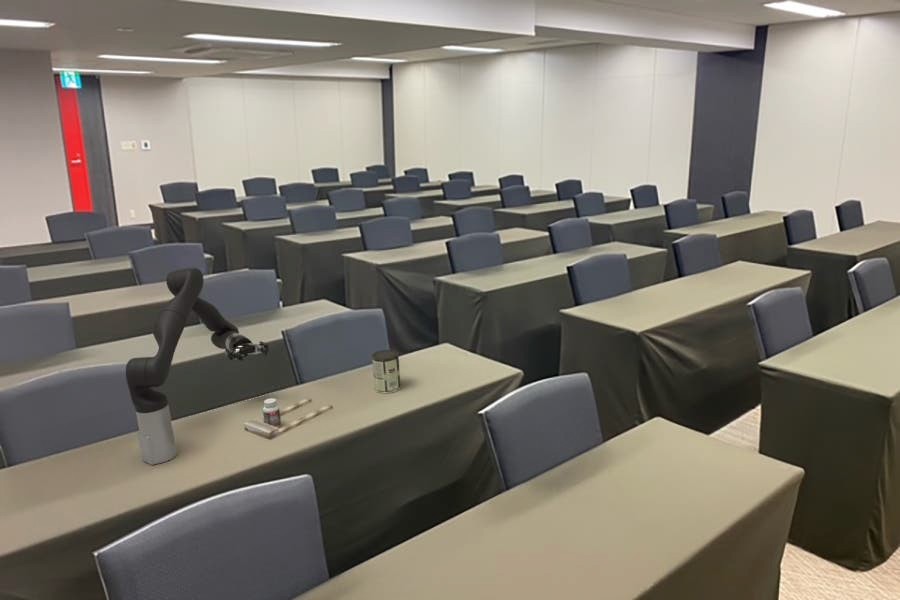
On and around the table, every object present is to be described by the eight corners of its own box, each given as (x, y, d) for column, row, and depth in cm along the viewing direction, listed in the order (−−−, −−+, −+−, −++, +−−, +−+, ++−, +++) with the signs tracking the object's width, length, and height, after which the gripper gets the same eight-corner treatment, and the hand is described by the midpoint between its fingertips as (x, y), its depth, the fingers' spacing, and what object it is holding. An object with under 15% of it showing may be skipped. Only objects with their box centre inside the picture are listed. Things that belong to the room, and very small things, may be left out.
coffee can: (385, 381, 251) (382, 348, 247) (406, 385, 246) (403, 351, 242) (368, 390, 243) (365, 356, 239) (390, 395, 237) (387, 360, 234)
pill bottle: (273, 431, 213) (269, 405, 211) (261, 428, 216) (258, 402, 213) (284, 424, 218) (281, 398, 215) (273, 422, 220) (269, 396, 218)
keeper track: (269, 439, 208) (268, 432, 207) (244, 429, 215) (243, 423, 215) (332, 408, 229) (331, 401, 228) (307, 400, 237) (307, 394, 236)
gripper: (217, 339, 229) (232, 349, 216) (256, 331, 237) (272, 340, 224) (220, 359, 230) (234, 370, 218) (258, 350, 238) (274, 360, 226)
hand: (253, 355), depth 221 cm, fingers open, 8 cm apart
